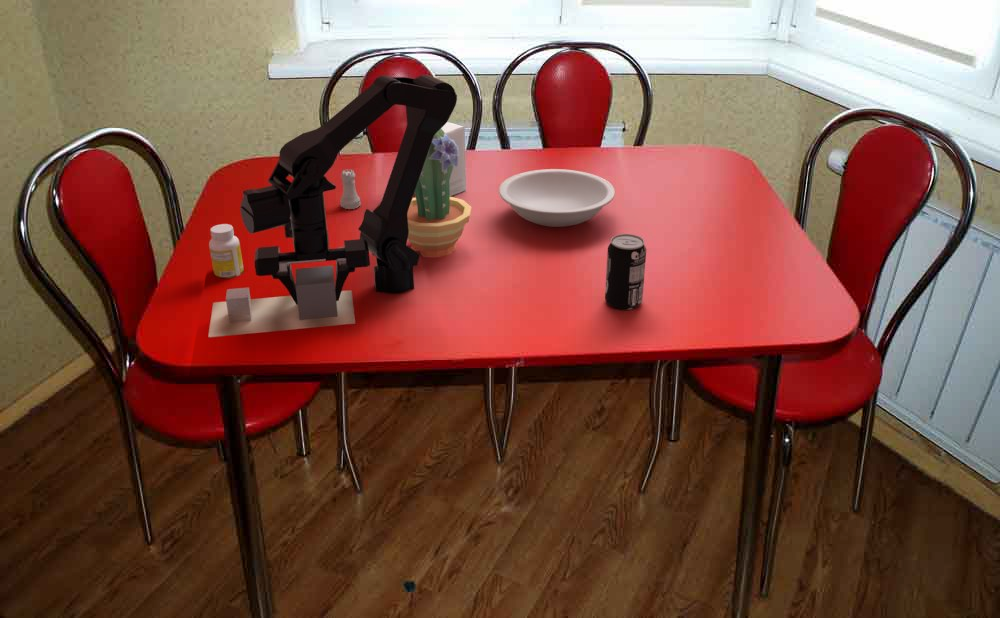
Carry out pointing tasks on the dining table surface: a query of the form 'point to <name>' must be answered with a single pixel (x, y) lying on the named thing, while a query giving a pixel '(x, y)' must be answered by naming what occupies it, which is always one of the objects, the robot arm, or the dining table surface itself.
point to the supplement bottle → (225, 252)
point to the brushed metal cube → (239, 305)
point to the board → (276, 316)
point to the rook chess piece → (349, 191)
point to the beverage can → (625, 271)
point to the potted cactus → (437, 203)
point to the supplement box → (459, 172)
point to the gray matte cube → (316, 292)
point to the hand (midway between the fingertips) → (317, 301)
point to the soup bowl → (556, 196)
